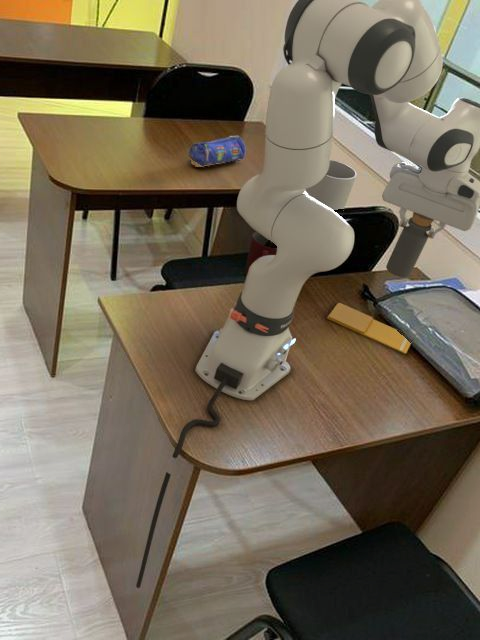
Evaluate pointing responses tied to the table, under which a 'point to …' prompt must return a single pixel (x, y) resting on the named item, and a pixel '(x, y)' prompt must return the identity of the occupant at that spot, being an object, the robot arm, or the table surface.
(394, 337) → the flat rectangular block
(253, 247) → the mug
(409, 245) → the bottle
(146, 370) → the table surface
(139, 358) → the table surface
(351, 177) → the cylinder vase
